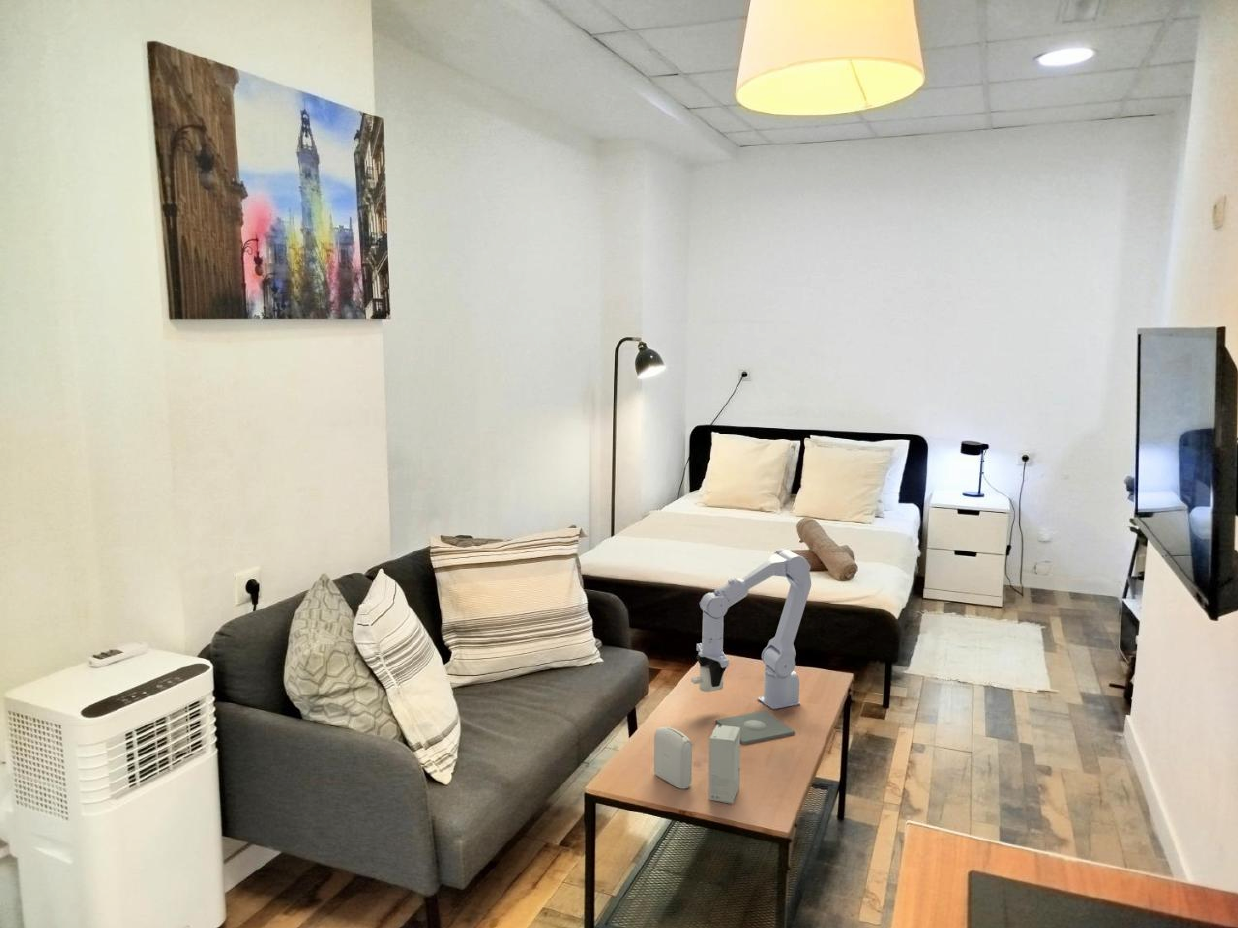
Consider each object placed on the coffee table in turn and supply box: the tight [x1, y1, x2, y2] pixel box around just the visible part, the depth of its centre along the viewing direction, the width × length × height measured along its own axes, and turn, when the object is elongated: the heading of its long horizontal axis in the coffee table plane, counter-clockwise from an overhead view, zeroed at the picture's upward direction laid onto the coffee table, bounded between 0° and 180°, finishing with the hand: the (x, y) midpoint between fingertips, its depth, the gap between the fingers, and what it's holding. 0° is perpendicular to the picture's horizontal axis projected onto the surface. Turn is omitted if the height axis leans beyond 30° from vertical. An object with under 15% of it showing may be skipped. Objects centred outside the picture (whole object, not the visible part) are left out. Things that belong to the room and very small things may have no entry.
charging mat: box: [715, 709, 796, 745], centre depth 231 cm, size 16×14×1 cm
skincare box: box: [708, 724, 741, 805], centre depth 196 cm, size 8×6×15 cm
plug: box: [690, 665, 725, 693], centre depth 240 cm, size 9×4×6 cm, turn 114°
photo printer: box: [653, 725, 693, 790], centre depth 202 cm, size 10×4×12 cm, turn 39°
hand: (711, 683), depth 241 cm, fingers closed on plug, 4 cm apart
